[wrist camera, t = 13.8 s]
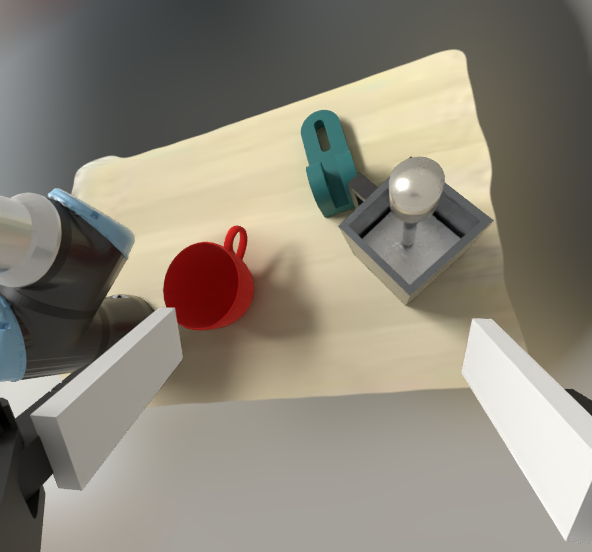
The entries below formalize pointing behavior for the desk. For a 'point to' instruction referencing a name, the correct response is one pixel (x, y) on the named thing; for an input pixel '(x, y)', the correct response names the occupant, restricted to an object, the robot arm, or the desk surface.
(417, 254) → the plunger
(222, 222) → the desk surface
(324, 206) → the bracket
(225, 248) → the ceramic cup
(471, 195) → the desk surface
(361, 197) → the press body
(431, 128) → the desk surface
